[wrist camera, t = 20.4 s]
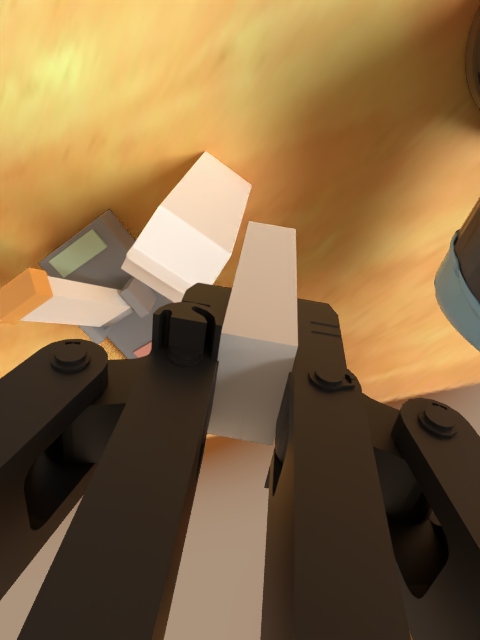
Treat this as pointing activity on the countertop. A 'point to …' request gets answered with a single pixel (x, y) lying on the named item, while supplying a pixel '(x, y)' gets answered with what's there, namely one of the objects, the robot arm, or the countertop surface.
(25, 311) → the handle
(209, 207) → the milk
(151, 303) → the switch plate
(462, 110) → the countertop surface
